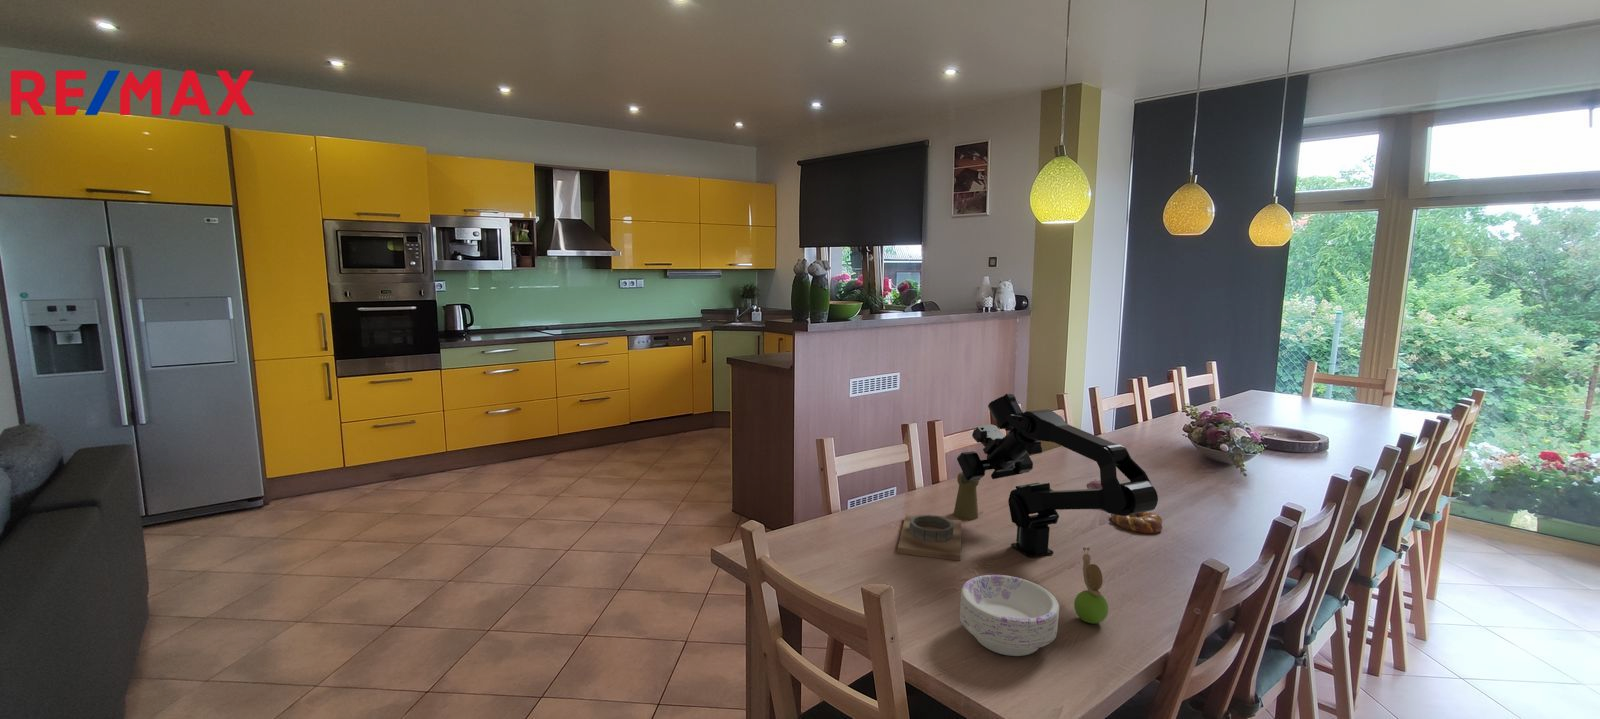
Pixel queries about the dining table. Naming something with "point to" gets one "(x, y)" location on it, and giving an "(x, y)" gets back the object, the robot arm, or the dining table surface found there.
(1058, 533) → the dining table surface
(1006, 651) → the paper bowls
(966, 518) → the cork
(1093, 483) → the video game controller
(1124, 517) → the pretzel
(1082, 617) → the snail figurine
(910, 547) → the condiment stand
